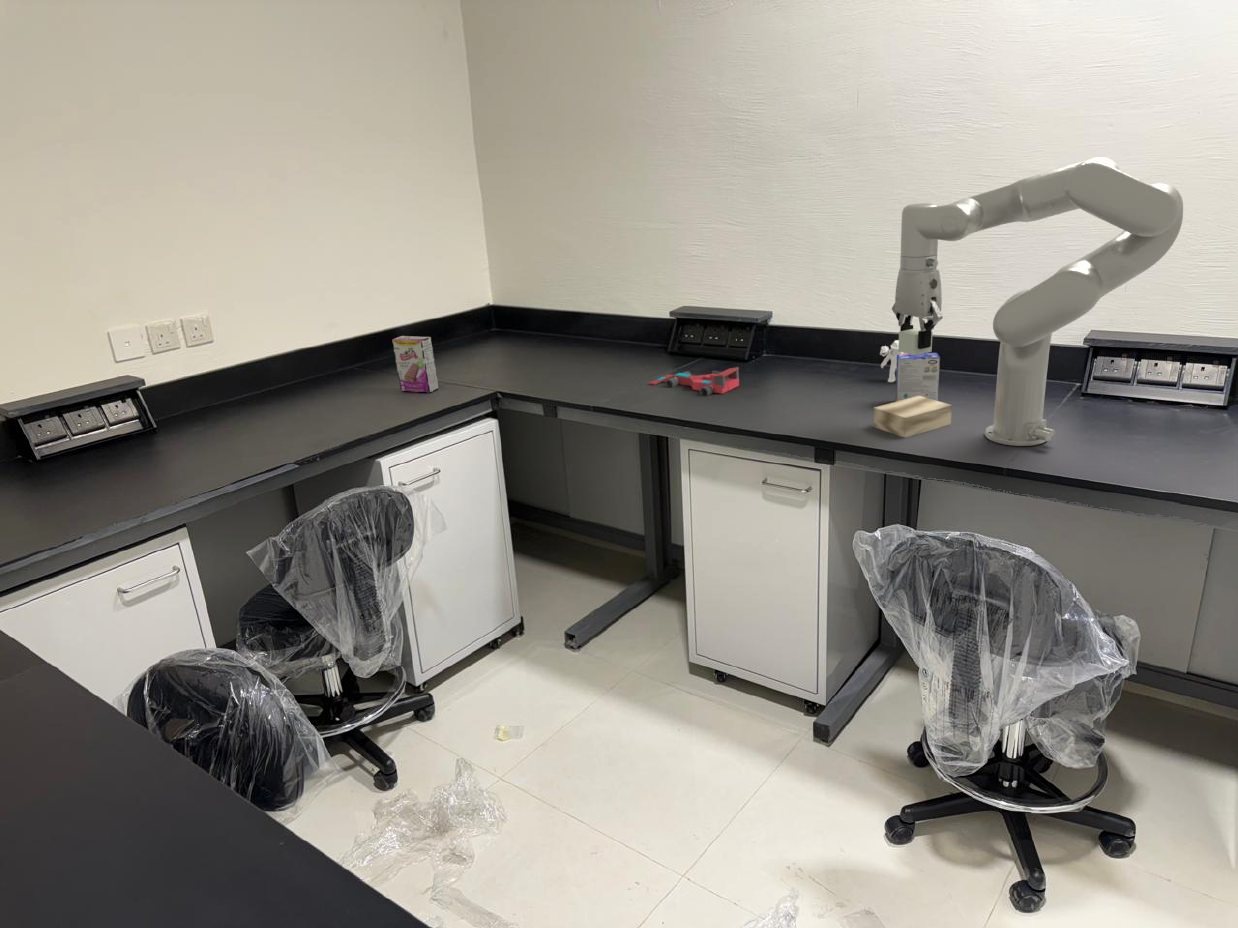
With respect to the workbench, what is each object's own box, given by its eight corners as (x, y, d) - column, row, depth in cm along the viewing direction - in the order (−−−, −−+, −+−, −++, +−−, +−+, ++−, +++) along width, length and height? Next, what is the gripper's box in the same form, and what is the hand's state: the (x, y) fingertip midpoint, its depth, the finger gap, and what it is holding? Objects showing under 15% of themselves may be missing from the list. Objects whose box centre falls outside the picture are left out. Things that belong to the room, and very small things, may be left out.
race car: (672, 356, 259) (744, 364, 243) (673, 375, 261) (745, 385, 246) (642, 368, 249) (716, 377, 233) (644, 388, 251) (717, 399, 235)
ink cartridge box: (935, 399, 219) (938, 343, 213) (938, 406, 214) (941, 348, 208) (894, 400, 221) (896, 344, 216) (896, 407, 216) (898, 349, 211)
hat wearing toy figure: (914, 381, 235) (916, 337, 230) (909, 384, 232) (911, 340, 228) (881, 377, 240) (883, 334, 236) (876, 381, 237) (877, 338, 233)
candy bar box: (400, 392, 266) (390, 339, 260) (410, 387, 270) (401, 335, 264) (430, 394, 261) (421, 340, 256) (440, 389, 266) (431, 336, 260)
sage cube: (931, 351, 195) (932, 331, 193) (913, 355, 193) (914, 335, 192) (915, 347, 199) (916, 328, 198) (898, 351, 198) (899, 331, 196)
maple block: (950, 425, 201) (951, 405, 200) (904, 439, 196) (905, 417, 194) (918, 415, 210) (919, 395, 208) (873, 428, 204) (873, 407, 202)
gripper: (961, 264, 183) (956, 349, 190) (904, 257, 198) (902, 336, 205) (933, 269, 181) (929, 355, 187) (878, 261, 195) (876, 341, 202)
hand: (915, 344), depth 196 cm, fingers closed on sage cube, 5 cm apart
